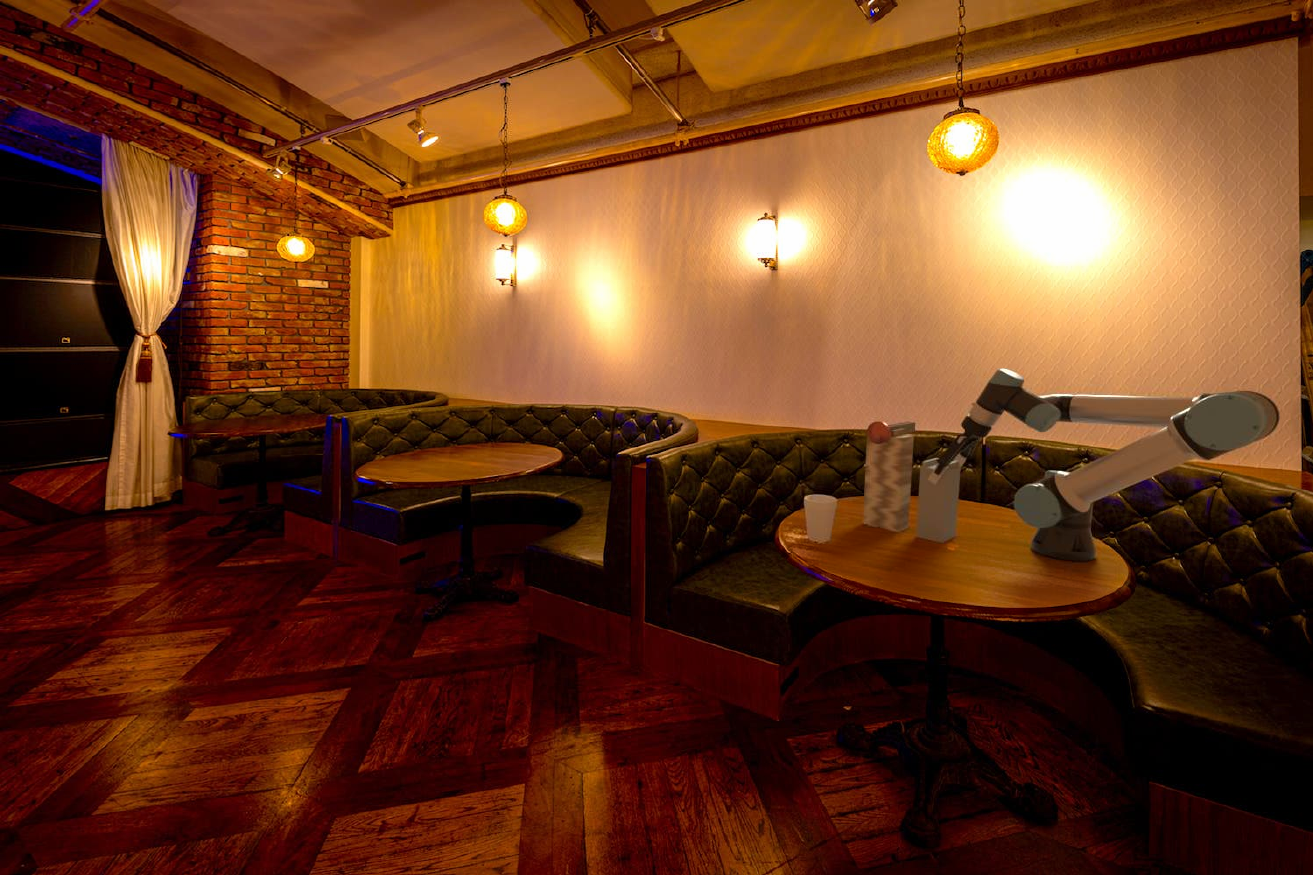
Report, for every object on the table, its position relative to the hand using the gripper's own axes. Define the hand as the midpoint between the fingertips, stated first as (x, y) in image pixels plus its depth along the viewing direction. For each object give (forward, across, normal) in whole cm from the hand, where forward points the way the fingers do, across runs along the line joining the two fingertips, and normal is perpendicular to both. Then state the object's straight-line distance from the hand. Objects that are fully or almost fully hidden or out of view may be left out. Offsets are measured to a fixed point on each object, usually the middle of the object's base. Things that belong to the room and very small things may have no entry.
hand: (941, 477), depth 181 cm
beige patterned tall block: (+24, +4, -5) cm, 24 cm away
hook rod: (-1, -1, -18) cm, 18 cm away
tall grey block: (+16, +3, +9) cm, 18 cm away
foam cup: (+26, +32, -12) cm, 42 cm away
